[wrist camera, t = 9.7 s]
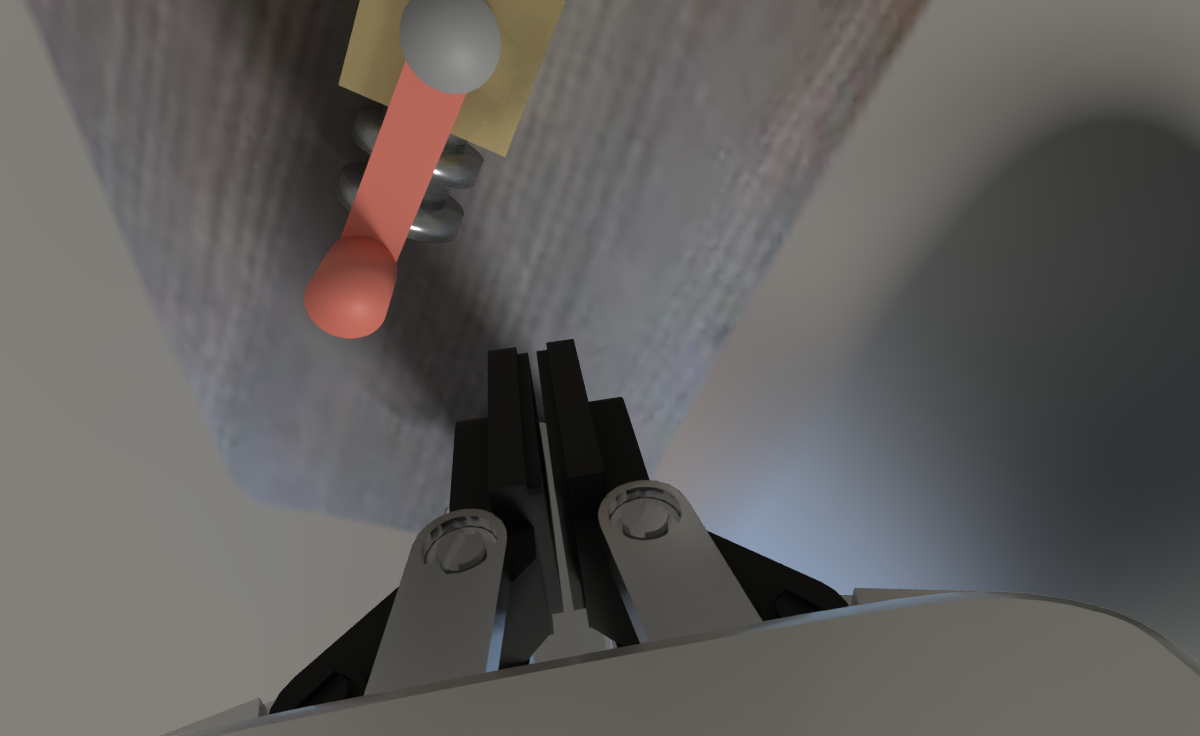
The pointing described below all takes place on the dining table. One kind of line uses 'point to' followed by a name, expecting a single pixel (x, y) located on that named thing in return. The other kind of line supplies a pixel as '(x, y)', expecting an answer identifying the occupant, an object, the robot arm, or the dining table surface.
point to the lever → (403, 160)
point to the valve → (486, 114)
